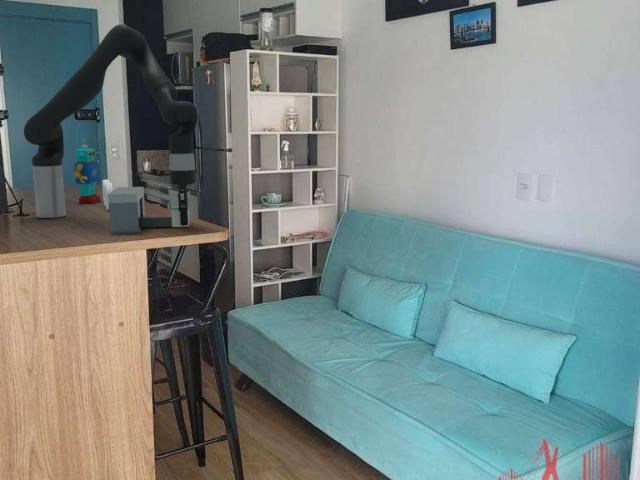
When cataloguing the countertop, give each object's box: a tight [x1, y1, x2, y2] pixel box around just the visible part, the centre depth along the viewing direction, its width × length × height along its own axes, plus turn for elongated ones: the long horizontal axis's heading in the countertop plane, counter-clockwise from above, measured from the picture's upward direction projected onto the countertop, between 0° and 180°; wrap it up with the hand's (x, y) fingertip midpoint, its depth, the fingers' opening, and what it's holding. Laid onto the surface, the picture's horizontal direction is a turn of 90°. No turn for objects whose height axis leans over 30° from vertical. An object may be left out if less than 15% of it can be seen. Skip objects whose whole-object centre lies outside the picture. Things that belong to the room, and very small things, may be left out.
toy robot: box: [74, 138, 102, 205], centre depth 249 cm, size 12×6×25 cm, turn 179°
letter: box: [101, 179, 114, 212], centre depth 236 cm, size 22×2×10 cm, turn 22°
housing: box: [108, 186, 146, 235], centre depth 193 cm, size 18×8×12 cm, turn 9°
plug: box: [141, 204, 190, 229], centre depth 195 cm, size 4×21×6 cm, turn 98°
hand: (184, 223), depth 197 cm, fingers closed on plug, 4 cm apart
